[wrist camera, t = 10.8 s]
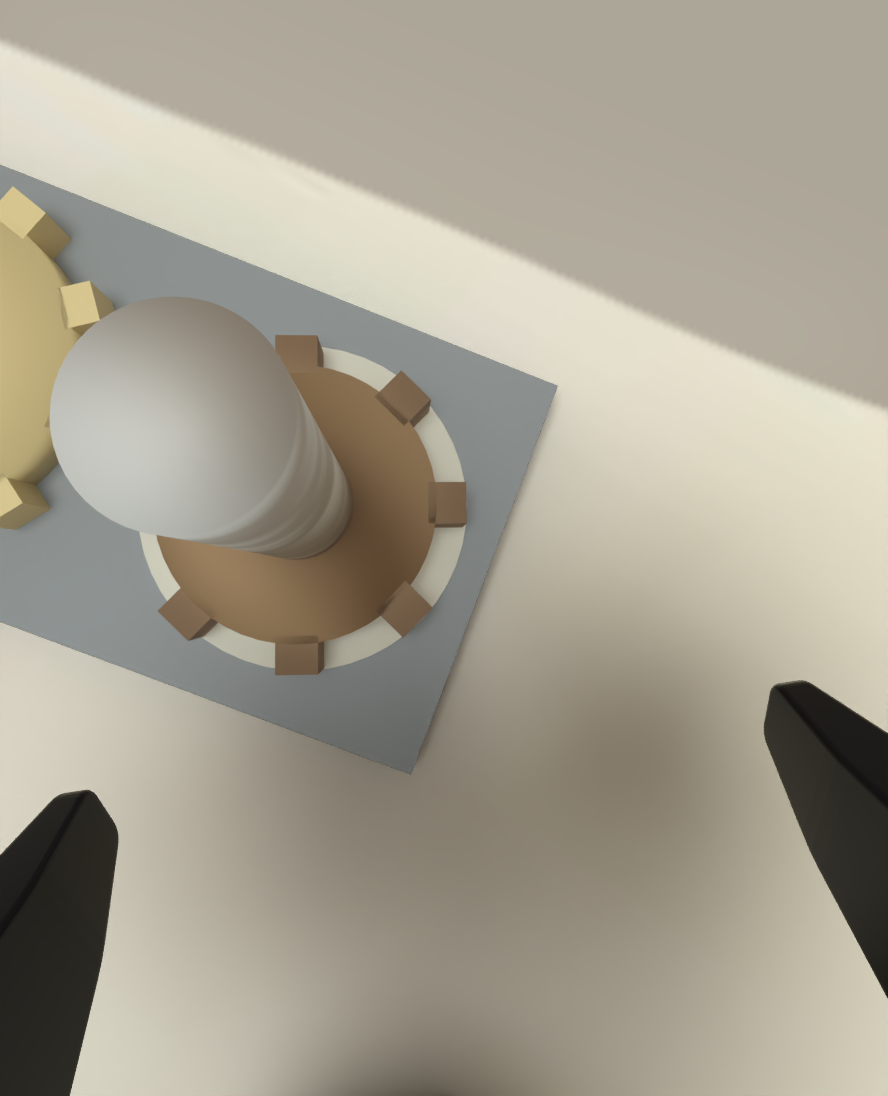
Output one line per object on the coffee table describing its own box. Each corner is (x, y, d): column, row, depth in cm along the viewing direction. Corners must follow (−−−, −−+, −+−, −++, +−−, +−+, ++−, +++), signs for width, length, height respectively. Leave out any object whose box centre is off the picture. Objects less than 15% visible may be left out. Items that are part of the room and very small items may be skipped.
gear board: (548, 397, 24) (577, 360, 20) (410, 762, 23) (411, 800, 19) (-133, 128, 23) (-247, 32, 19) (-301, 497, 23) (-456, 479, 18)
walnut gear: (304, 734, 22) (170, 945, 9) (74, 509, 22) (-377, 414, 9) (526, 507, 22) (681, 416, 10) (304, 289, 22) (177, -82, 10)
